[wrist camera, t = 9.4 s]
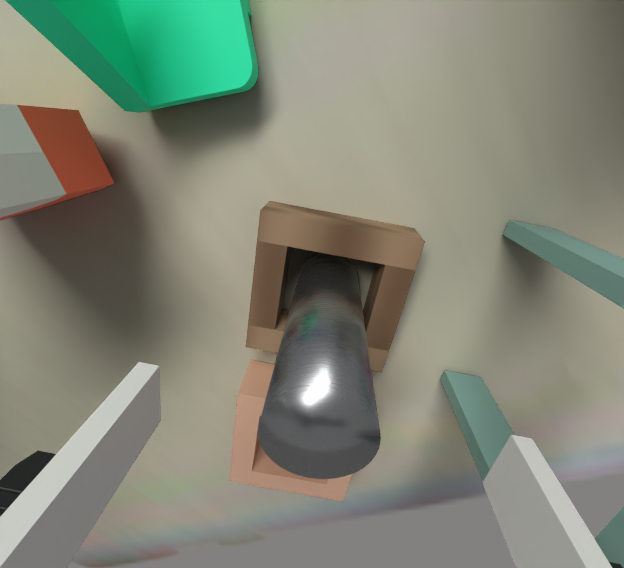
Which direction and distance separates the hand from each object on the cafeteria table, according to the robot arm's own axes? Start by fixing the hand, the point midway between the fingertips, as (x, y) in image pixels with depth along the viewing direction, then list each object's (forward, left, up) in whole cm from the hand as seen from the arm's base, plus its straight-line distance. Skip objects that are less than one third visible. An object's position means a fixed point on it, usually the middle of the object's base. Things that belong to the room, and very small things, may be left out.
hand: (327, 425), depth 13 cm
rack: (0, -13, -13) cm, 19 cm away
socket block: (0, 0, -13) cm, 13 cm away
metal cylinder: (0, 0, -13) cm, 13 cm away
